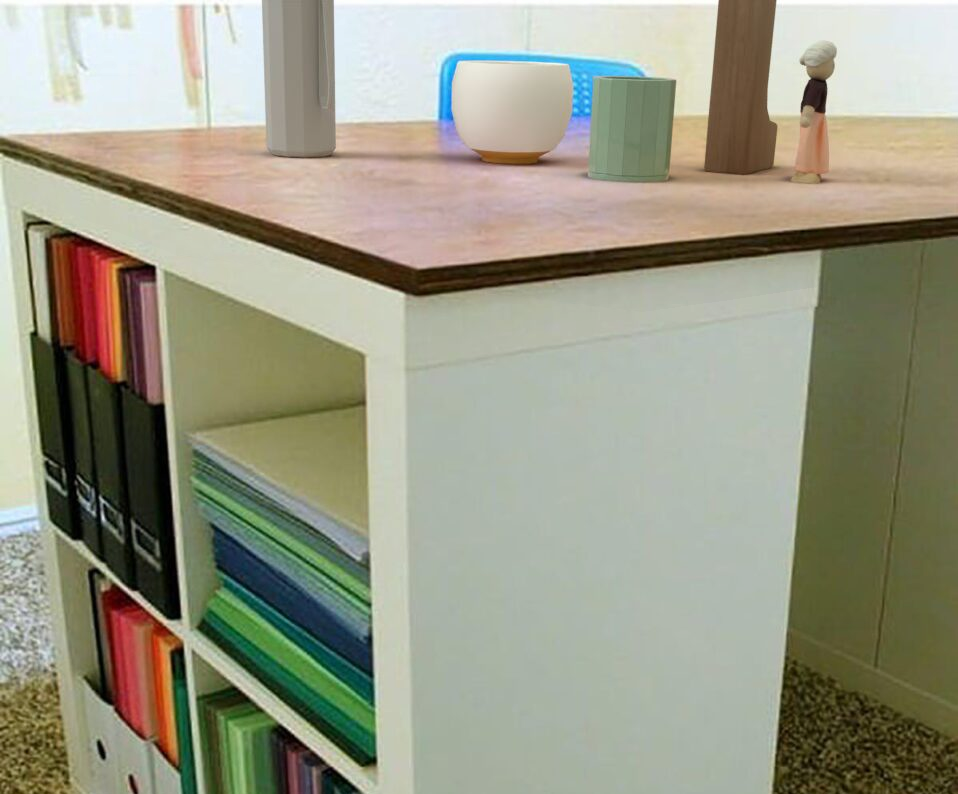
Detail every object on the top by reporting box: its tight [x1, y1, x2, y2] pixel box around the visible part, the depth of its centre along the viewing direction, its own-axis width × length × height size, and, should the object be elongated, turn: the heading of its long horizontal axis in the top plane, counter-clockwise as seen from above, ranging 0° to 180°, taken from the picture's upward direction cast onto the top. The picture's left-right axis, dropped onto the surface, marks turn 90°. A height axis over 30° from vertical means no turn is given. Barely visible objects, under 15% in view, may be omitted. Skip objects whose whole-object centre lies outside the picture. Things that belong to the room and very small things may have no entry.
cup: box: [450, 59, 574, 165], centre depth 132 cm, size 12×12×10 cm
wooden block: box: [703, 0, 779, 176], centre depth 128 cm, size 9×4×18 cm, turn 150°
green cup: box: [587, 75, 677, 183], centre depth 121 cm, size 8×8×9 cm
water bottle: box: [261, 0, 337, 159], centre depth 129 cm, size 9×8×25 cm
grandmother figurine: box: [790, 39, 838, 185], centre depth 122 cm, size 8×4×13 cm, turn 171°
